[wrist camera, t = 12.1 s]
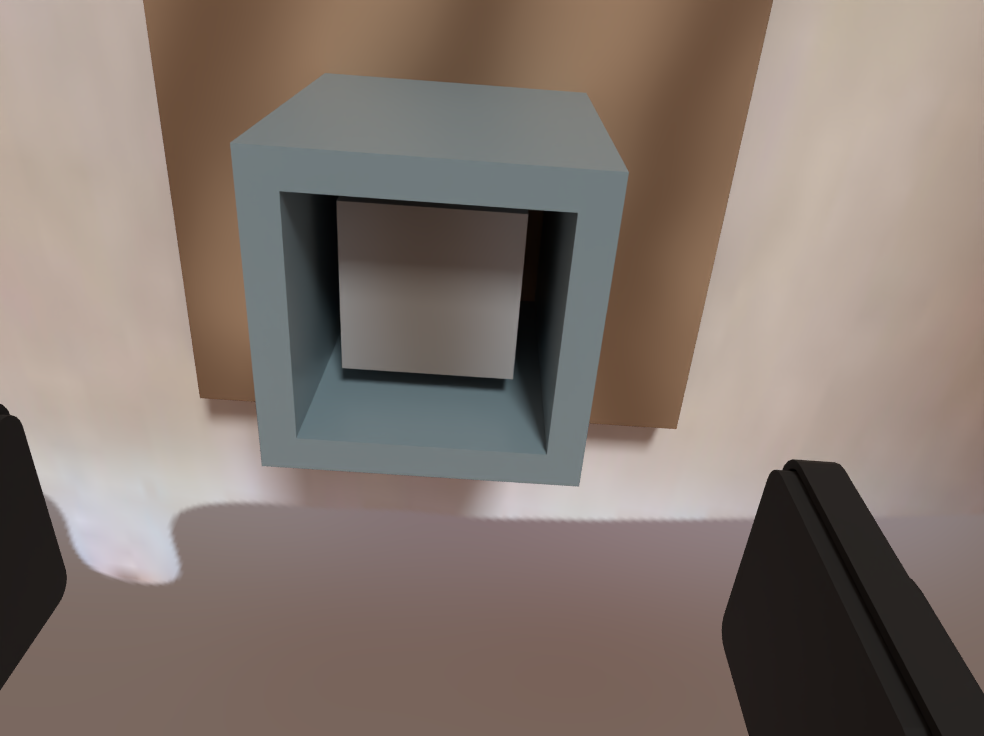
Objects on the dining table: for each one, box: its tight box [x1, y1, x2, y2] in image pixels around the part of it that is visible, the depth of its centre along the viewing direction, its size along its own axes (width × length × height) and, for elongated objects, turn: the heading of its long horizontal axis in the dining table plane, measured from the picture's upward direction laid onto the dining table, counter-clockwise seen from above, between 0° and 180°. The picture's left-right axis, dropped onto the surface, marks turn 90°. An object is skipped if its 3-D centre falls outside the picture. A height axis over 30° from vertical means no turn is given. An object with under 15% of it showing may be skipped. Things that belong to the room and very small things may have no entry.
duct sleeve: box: [230, 73, 629, 486], centre depth 18 cm, size 7×7×8 cm
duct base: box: [143, 0, 773, 429], centre depth 20 cm, size 16×14×8 cm
